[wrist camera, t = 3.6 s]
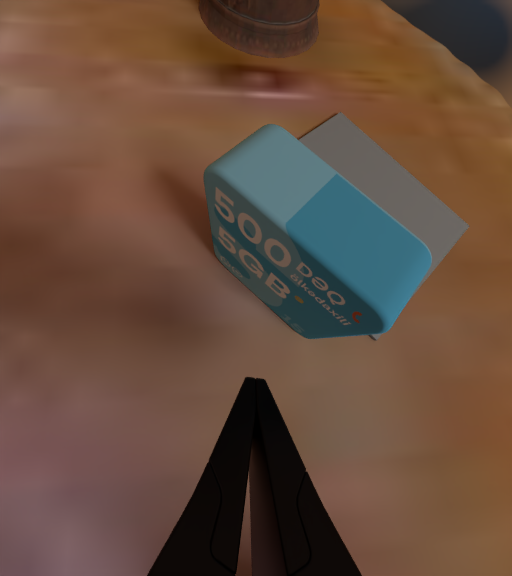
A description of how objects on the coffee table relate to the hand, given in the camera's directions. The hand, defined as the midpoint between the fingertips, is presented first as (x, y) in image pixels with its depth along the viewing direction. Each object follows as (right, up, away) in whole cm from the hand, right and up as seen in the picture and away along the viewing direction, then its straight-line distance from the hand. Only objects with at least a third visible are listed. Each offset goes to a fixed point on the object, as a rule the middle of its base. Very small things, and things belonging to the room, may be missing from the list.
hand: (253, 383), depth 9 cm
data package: (+2, +5, +12) cm, 13 cm away
